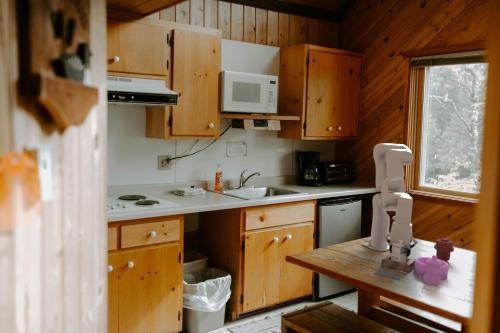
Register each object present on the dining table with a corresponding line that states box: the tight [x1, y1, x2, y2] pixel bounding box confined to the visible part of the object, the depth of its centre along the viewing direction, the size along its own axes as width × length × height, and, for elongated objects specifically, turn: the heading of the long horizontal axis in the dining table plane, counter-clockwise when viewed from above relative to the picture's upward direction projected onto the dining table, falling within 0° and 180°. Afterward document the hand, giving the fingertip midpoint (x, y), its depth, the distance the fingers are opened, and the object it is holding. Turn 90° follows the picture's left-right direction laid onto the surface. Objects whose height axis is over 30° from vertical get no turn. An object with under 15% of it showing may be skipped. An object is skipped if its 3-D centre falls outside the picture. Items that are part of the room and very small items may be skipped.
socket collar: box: [380, 253, 416, 274], centre depth 247 cm, size 14×14×4 cm
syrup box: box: [390, 240, 408, 263], centre depth 246 cm, size 6×6×14 cm
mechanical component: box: [433, 237, 455, 263], centre depth 260 cm, size 12×10×10 cm
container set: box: [413, 254, 449, 286], centre depth 233 cm, size 25×15×13 cm, turn 162°
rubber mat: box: [373, 267, 407, 281], centre depth 235 cm, size 12×12×1 cm
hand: (399, 254), depth 246 cm, fingers closed on syrup box, 7 cm apart
